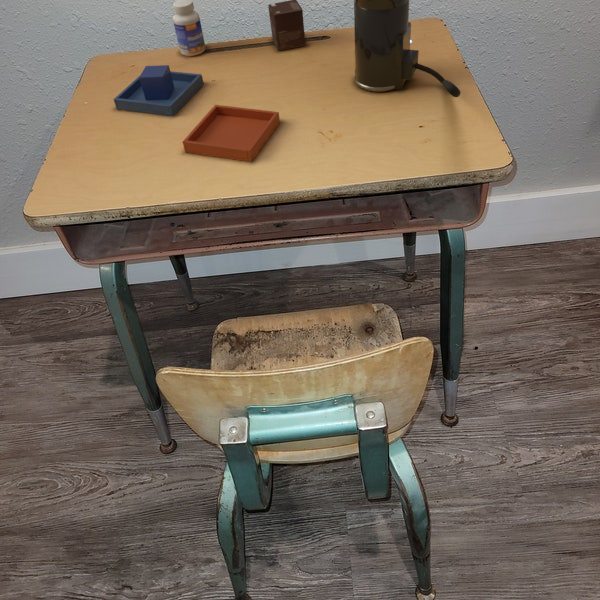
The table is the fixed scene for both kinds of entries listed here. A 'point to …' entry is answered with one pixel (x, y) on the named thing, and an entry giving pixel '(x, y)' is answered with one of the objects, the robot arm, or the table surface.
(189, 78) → the blue tray
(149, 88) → the blue block
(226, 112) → the warm tray
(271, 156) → the table surface
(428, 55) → the table surface
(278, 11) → the box
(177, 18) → the pill bottle
